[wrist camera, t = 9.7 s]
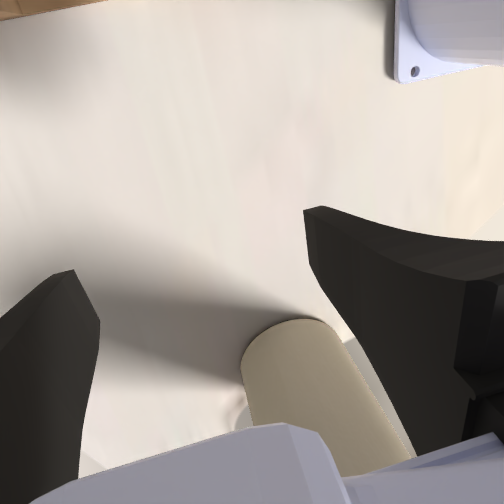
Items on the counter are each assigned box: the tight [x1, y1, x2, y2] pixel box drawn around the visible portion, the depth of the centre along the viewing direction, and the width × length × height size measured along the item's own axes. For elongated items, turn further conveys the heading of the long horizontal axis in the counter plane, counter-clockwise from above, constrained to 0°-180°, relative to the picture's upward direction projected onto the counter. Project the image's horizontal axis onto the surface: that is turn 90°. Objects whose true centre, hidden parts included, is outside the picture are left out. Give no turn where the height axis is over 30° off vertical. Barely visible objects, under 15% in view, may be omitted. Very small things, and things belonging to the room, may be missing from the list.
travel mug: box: [241, 319, 412, 477], centre depth 21 cm, size 8×8×18 cm
